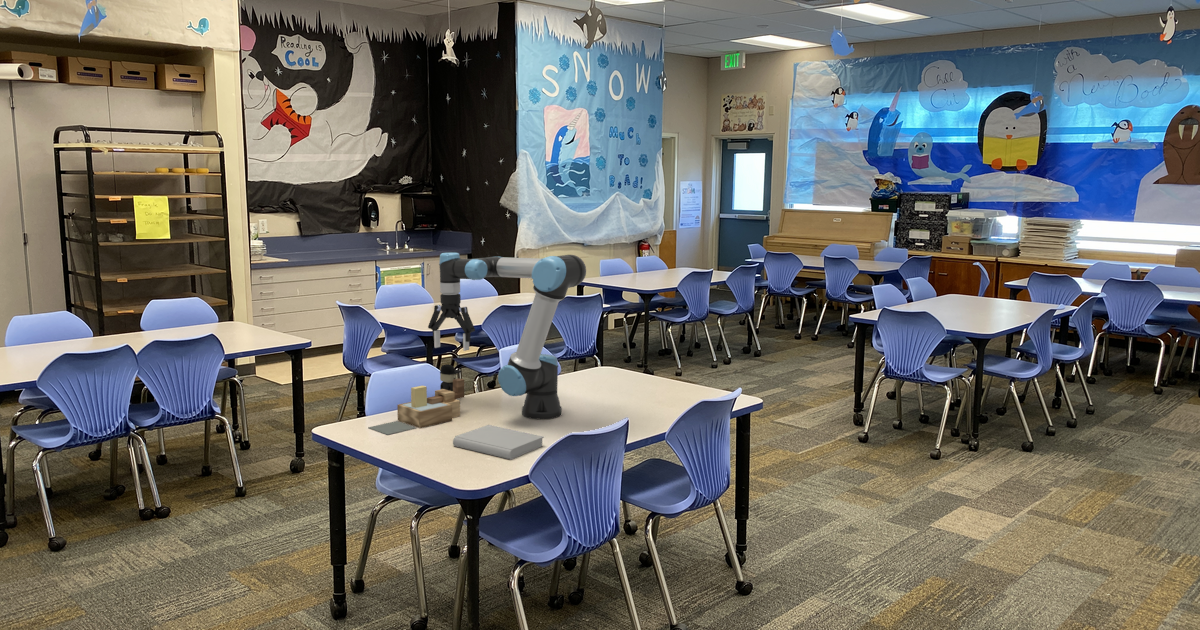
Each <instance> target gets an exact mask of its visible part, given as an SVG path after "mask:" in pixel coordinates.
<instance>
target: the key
mask: <svg viewBox="0 0 1200 630" xmlns="http://www.w3.org/2000/svg"><path fill="white" fill-rule="evenodd" d="M453 392H455V399H456V400H459V399H463V398H465V379H464V378H456V379H453ZM440 402H443V396H442V395H438V396H435V395H434V396H433V395H432V396H430V397H429V396H427V403H429V404H436V403H440Z"/></svg>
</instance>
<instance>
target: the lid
mask: <svg viewBox="0 0 1200 630" xmlns="http://www.w3.org/2000/svg"><path fill="white" fill-rule="evenodd" d="M427 389H428V388H427V386H426V385H419V386H414V387H410V395H411V396H410V398H411V399H410V402H411V403H408V402H406V403H407V404H403V403H402V404H403V406H406V407H409V408H413V409H416V410H419V411H424V410H428V409H433V408H437V407H442V406H447V405H446V404H443V403H436V404H429V403H427V398H428V395H427V392H428V391H427Z"/></svg>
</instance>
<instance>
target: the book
mask: <svg viewBox="0 0 1200 630" xmlns="http://www.w3.org/2000/svg"><path fill="white" fill-rule="evenodd" d="M544 438H545V437H544V436H543V435H538V434H534V433H528V432H525V431H519V430H515V429H510V428H507V427H506V428H505V427H502V426H498V425H492V424H486V425H483V426H481V427H478V428H475V429H472V430H469V431H466V432H464V433H463V432H462V433H461V434H458V435H455V436H454V438H453V440H452V445H453V446H454V447H456V448H460V449H465V450H469V451H473V452H477V453H481V454H486V455H490V456H494V457H499V458H501V459H507V460H513V459H516V458H519V457H520V456H523V455H524V454H527V453H529V452H532V451H535V450H536V449H539V448H541V446H542V447H543V439H544Z"/></svg>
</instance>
